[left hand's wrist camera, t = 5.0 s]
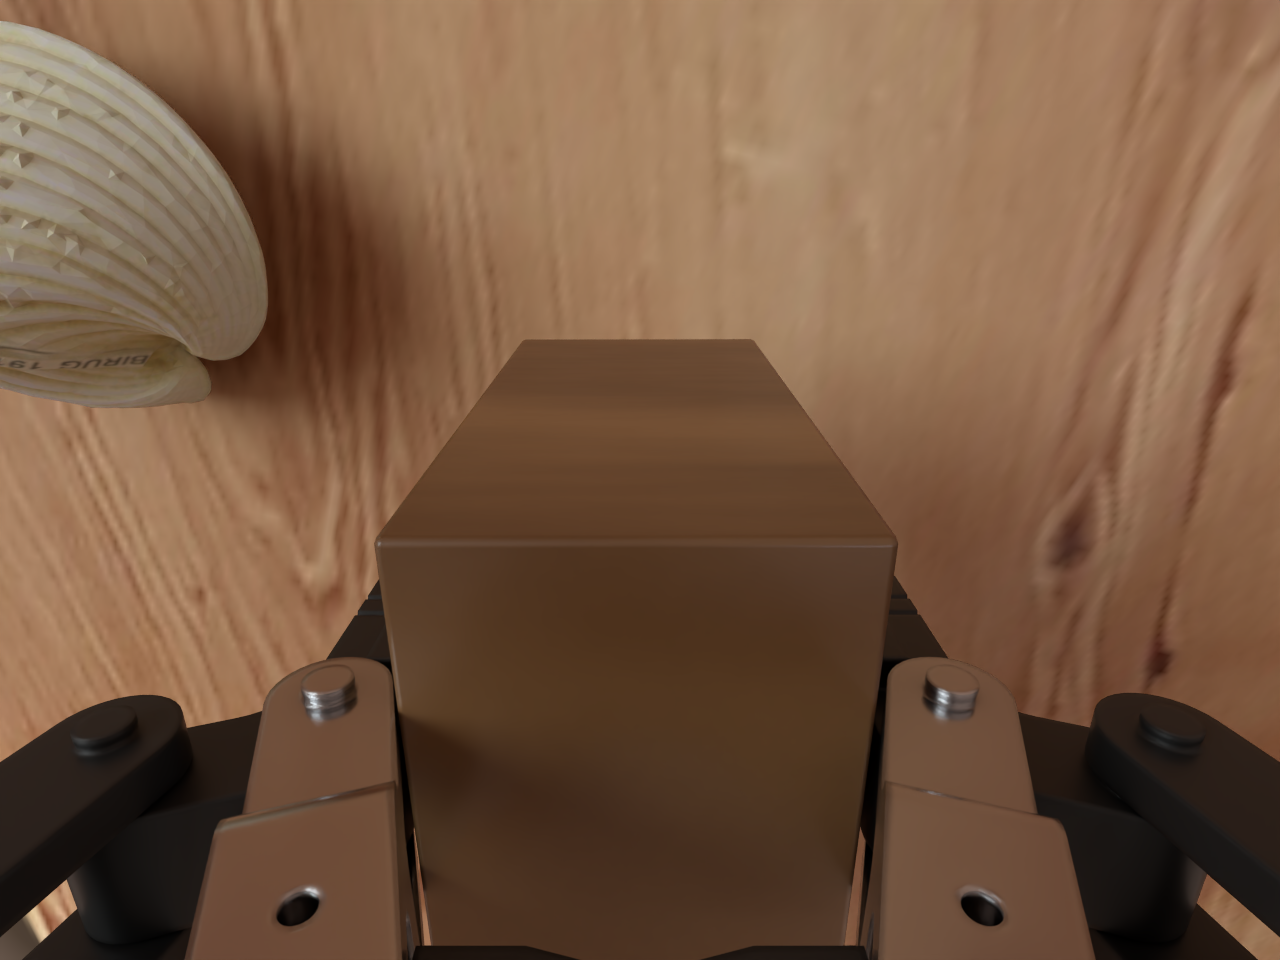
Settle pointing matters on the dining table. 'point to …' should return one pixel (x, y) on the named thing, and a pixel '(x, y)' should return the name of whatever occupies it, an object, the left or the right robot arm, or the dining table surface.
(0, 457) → the dining table surface
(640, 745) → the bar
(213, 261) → the seashell
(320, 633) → the dining table surface
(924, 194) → the dining table surface
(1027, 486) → the dining table surface
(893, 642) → the left robot arm
